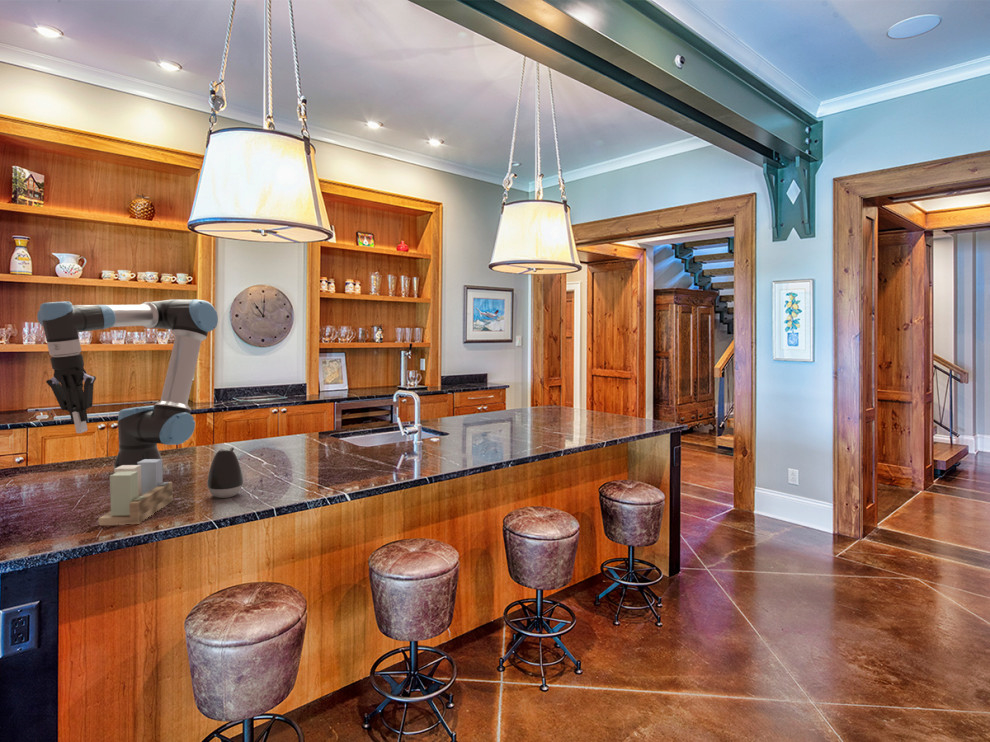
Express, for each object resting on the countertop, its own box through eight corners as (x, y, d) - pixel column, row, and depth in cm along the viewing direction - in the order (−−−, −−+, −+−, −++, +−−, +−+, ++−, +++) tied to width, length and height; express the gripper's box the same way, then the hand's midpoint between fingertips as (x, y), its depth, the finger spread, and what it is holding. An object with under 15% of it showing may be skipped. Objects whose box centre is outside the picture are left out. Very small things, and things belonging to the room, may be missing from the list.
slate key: (145, 495, 165) (144, 459, 164) (163, 494, 165) (162, 459, 164) (138, 499, 161) (137, 462, 160) (156, 499, 161) (155, 462, 160)
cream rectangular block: (123, 502, 158) (122, 465, 157) (142, 502, 158) (140, 465, 157) (115, 507, 154) (114, 468, 153) (134, 506, 154) (133, 468, 153)
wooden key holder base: (138, 501, 166) (137, 480, 165) (172, 501, 167) (172, 480, 166) (98, 525, 146) (97, 502, 145) (138, 524, 147) (137, 501, 146)
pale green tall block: (119, 510, 151) (118, 471, 150) (138, 510, 151) (137, 471, 151) (111, 515, 147) (109, 475, 146) (130, 515, 148) (129, 475, 147)
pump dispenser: (249, 490, 179) (248, 445, 177) (234, 500, 168) (234, 452, 167) (217, 490, 178) (216, 444, 177) (201, 500, 168) (200, 451, 167)
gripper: (33, 358, 156) (50, 437, 161) (80, 355, 157) (96, 434, 161) (52, 354, 164) (68, 429, 168) (97, 351, 164) (112, 426, 169)
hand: (82, 431), depth 165 cm, fingers closed
